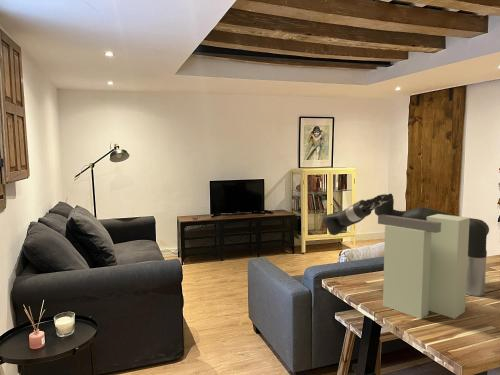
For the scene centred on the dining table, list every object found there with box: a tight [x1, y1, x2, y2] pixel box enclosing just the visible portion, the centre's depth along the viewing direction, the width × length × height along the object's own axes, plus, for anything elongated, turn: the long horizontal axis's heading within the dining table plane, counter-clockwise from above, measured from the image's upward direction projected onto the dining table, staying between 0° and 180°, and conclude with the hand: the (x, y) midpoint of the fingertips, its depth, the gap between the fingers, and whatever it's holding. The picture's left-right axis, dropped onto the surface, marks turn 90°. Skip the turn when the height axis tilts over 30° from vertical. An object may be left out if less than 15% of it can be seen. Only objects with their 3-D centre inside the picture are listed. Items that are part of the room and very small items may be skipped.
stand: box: [427, 214, 471, 319], centre depth 147 cm, size 10×12×38 cm
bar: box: [377, 214, 441, 233], centre depth 145 cm, size 4×24×4 cm, turn 39°
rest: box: [382, 225, 432, 320], centre depth 147 cm, size 6×16×34 cm, turn 39°
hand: (386, 196), depth 157 cm, fingers open, 8 cm apart
